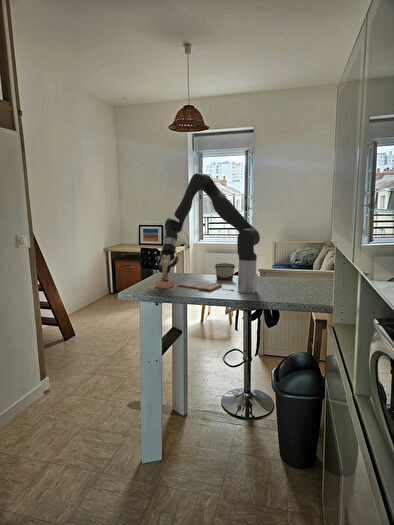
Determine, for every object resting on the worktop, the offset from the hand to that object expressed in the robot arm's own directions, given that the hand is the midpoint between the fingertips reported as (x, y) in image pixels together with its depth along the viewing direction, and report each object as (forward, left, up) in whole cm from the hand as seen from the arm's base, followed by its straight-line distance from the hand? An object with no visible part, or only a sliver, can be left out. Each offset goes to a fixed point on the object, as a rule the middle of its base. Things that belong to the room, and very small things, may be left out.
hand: (164, 272), depth 191 cm
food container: (-19, -37, -9) cm, 43 cm away
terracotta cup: (+1, -2, -9) cm, 9 cm away
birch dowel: (+1, -2, -7) cm, 8 cm away
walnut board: (-15, -13, -9) cm, 22 cm away
